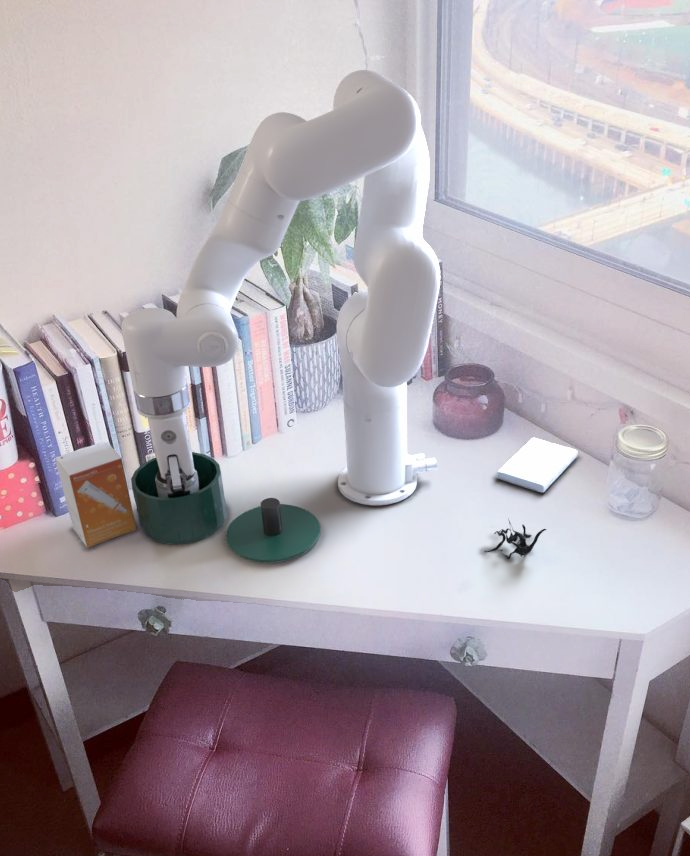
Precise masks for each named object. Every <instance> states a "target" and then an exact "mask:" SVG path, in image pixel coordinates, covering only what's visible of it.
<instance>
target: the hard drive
mask: <svg viewBox="0 0 690 856" xmlns="http://www.w3.org/2000/svg"><path fill="white" fill-rule="evenodd" d="M577 458H578V450H576V449H574V448H571V447H568V446H564V445H560V444H556V443H553V442H550V441H547V440H544V439H539V438H537V437H531V438H530V440H528V441H527V443H525V444H524V445H523V446H522V447H521V448H520V449H519V450H518V451H517V452H516V453H515V454H514V455H512V456H511V458H510V459H509V460H508V461H506V462H505V464H503V465H502V467H500V468H499V469H498V470H497V472H496V479H498V480H500V481H502V482H505V483H509V484H512V485H515V486H519V487H522V488H525V489H528V490H531V491H535V492H538V493H541V494H542V493H543V494H544V493H545V492H546V491H547V490H548V489H549V487H550V486H552V484H553V483H554V482H555V481H556V480H557V479H558V478H559V477H560V475H562V474H563V472H565V470H566V469H567V468H569V466H570V465H571V464H572V463H573V462H574V461H575V460H576V459H577Z"/></svg>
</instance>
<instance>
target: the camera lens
mask: <svg viewBox="0 0 690 856" xmlns="http://www.w3.org/2000/svg"><path fill="white" fill-rule="evenodd" d="M179 473H182V469H179ZM168 474H171V472H170V471H168ZM180 480H181V484H182V483H183V479H182V478H180ZM155 482H156V487H157V492H158V497H159V498H168V493H169V489H168V483H167V479H166V480H165V479H163V478H162V476H161V473H160V471H159V472H158V473H157V475H156V477H155ZM186 482H187V488H188V490H190V494H192V493H195V492H198V491H200V489H199V482H198V476H197V471H196V470H195V473H194V474H193V475H192V476H191V475H188V476H187V475H186ZM171 485H173V484H172V479H171Z"/></svg>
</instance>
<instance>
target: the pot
mask: <svg viewBox="0 0 690 856" xmlns="http://www.w3.org/2000/svg"><path fill="white" fill-rule="evenodd" d="M192 456H193V463H194V469H195V470H196V471H197V476H198V482H199V489H200V491H198V492H195V493H192V494H189V495H186V496H181V497H175V498H159V497H158V492H157V487H156V482H155V477H156V475H157V473H158V472H159V471H160V469H159V466H158V462H157V458H156V457H153V458H151V459H150V460H147V461H145V462H144V463H142V464H141V465H140V466H139V467H138V468H137V469H135V470H134V472H133V475H132V476H131V478H130V480H131V481H130V482H131V489H132V494H133V498H134V503H135V508H136V512H137V517H138V522H139V526H140V529H141V531H142V533H143V534H144V535H145V536H146V537H147V538H149V539H150V540H152V541H154V542H157V543H161V544H167V545H184V544H190V543H195V542H198V541H201V540H204V539H206V538H208V537H210V536H211V535H213V534H215V533H216V532H218V530H220V529H221V528H222V527H223V525H224V524H225V522H226V519H227V516H228V511H227V506H226V505H227V504H226V497H225V490H224V484H223V483H224V482H223V477H222V471H221V466H220V464H219V463H218V461H216V460H215V458H214V457H211V456H209V455H207V454H205V453H200V452H195V451H192Z"/></svg>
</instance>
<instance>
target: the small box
mask: <svg viewBox="0 0 690 856" xmlns="http://www.w3.org/2000/svg"><path fill="white" fill-rule="evenodd" d="M54 460H55V464H56V469H57V472H58V476H59V479H60V483H61V487H62V488H61V489H62V492H63V495H64V499H65V503H66V508H67V511H68V514H69V517H70V521H71V525H72V529H73V531H74V532H75V533H76V534H77V536H78V537H79V538H80V540H81V541H82V543H83V544H84V545H85V547H86V548H87V549H88V548H91V547H93V546H95V545H98V544H101V543H103V542H106V541H108V540H111V539H114V538H116V537H119V536H122V535H124V534H127V533H131V532H134V531H136V530H137V524H136V520H135V515H134V510H133V506H132V500H131V495H130V491H129V488H128V482H127V481H128V480H127V477H126V472H125V468H124V467H125V466H124V462H123V459H122V457H121V455H120V454H119V453H118V452H117V451H116V450H115V448H113V446H112V445H111V444H110V442H108V441H107V440H105V441H102V442H98V443H95V444H92V445H89V446H85V447H81V448H78V449H75V450H74V451H71V452H67V453H64V454H62V455H59V456H55V457H54Z"/></svg>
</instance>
